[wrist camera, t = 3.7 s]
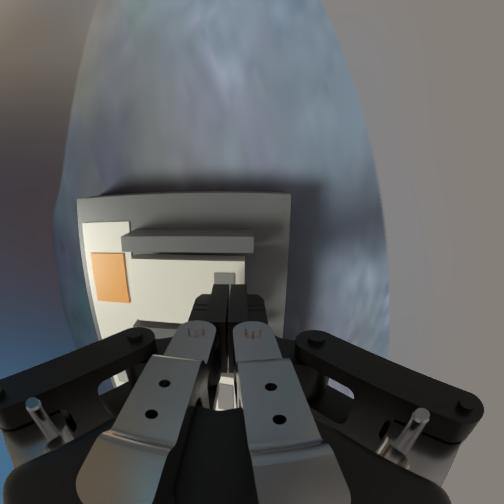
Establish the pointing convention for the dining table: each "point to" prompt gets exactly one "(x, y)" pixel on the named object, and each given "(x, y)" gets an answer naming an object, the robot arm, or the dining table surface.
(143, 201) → the switch unit
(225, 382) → the switch mid
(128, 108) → the dining table surface
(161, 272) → the switch
